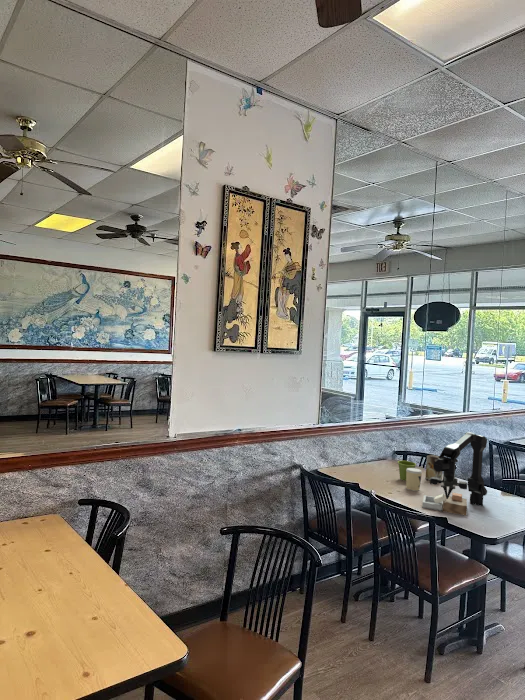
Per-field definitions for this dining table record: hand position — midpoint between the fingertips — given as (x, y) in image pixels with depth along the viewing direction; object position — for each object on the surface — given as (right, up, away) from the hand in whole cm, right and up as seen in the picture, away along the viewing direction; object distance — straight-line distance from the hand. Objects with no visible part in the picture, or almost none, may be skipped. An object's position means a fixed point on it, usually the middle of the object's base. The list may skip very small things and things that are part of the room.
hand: (447, 498), depth 267 cm
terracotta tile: (+7, -2, +5) cm, 9 cm away
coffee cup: (-8, -5, +36) cm, 37 cm away
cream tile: (-3, -2, +2) cm, 4 cm away
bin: (-6, -6, +6) cm, 10 cm away
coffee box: (+13, -6, +60) cm, 62 cm away
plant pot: (-6, -5, +56) cm, 56 cm away
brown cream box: (+5, -7, +2) cm, 8 cm away
